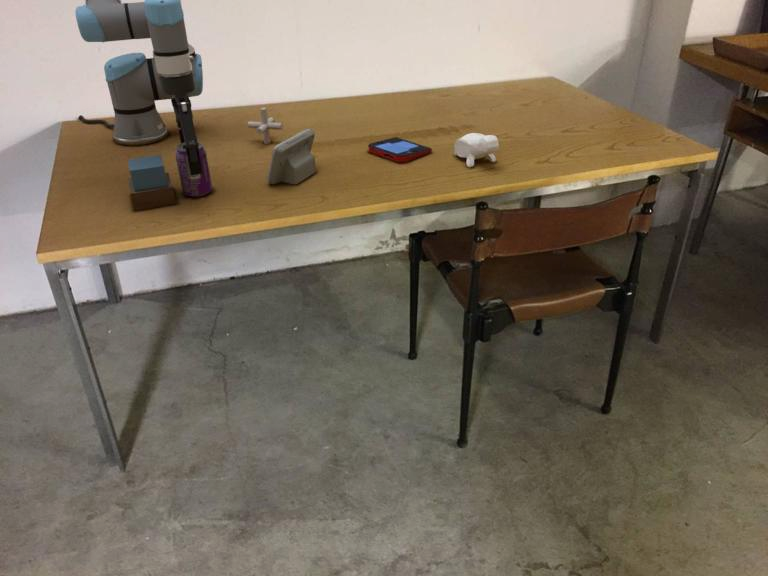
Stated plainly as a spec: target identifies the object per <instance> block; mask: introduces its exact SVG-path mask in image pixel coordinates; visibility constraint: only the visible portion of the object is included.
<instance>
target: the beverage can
mask: <svg viewBox="0 0 768 576" xmlns="http://www.w3.org/2000/svg"><path fill="white" fill-rule="evenodd" d="M191 142H194V141H191ZM197 142H198V144H199V146H198V149H199V155H200V160H201V166H202V172H203V173H202V174H196V175H191V174H190V169H189V164H188V158H187V153H186V149H183V145H186V144H185V142H184V143H181V142H180V143H179V144H177V145H175V150H176V151H175V154H174V155H175V160H176V166H177V170H178V175H179V180H180V185H181V190H182V194H184V195H186V196H189V197H195V198H196V197H203V196H205V195H207V194H209V193H211V191H212V190H213V184H212V179H211V173H210V167H209V161H208V157H207V151H206V149H205V148H204V144H203V143H202V142H200V141H197Z"/></svg>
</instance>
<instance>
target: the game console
mask: <svg viewBox="0 0 768 576" xmlns="http://www.w3.org/2000/svg"><path fill="white" fill-rule="evenodd" d="M367 147H368V152H369V153H370V154H373V155H376V156H379V157H381V158H384V159H387V160H389V161H393V162H395V163H406V162H409V161H411V160H414V159H415V160H416V158H420V157H422V156H425V155H428V154H430V153H431V152H432V151H433V149H432V148H431V147H429V146H425V145H422V144H419V143H416V142H414V141H410V140H407V139H403V138H402V137H397V136H394V137H391V138H386V139H382V140H379V141H373V142H370V143H368V145H367Z"/></svg>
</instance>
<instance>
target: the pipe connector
mask: <svg viewBox="0 0 768 576" xmlns="http://www.w3.org/2000/svg"><path fill="white" fill-rule="evenodd" d="M259 111H260V117H261V118H260V119H261V121H251V120H250V121H247V127H248V128H249V129H255V132H256V134H257V135H259V136H261V135H262V136H263V143H264V144H265V145H267V144H270V143H271V136H270V135H271V134H270V130H281V131H282V130H283V129H284V125H283V123H282V122H275V119H274V117H268V109H267V107H260V108H259Z"/></svg>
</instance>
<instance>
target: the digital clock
mask: <svg viewBox="0 0 768 576" xmlns="http://www.w3.org/2000/svg"><path fill="white" fill-rule="evenodd" d="M315 136H316V133H315V130H314V129H313V128H308V129H305V130H303V131H300V132H299V133H297V134H294V135H293V136H291V137H288V138H287V139H286V140H283V141H282V142H279V143H278V144H276V145H275V146H274V147H273V149H272V153H271V158H270V163H269V166H268V171H267V177H266V180H267V183H268V184H269V185H276V184H279V183H280V182H281V183H285V184H290V185H295V186H297V185H298V184H300V183H301V182H303V181H304V180H306V179H308V178H309V177H310V176H313V175H314V174H315V173H317V171H316V159H315V156H314V155H313V154H312V153H311V152H312V148H313V143H314V141H315V140H314V139H315Z"/></svg>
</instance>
